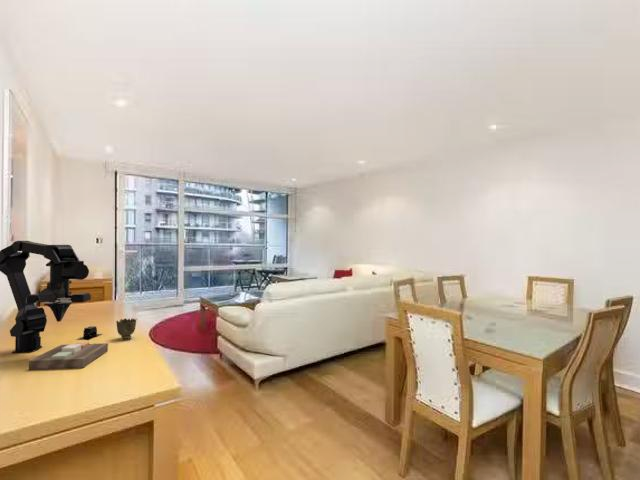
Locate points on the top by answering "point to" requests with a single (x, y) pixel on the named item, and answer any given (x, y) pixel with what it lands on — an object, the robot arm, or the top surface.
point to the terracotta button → (84, 344)
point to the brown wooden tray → (73, 361)
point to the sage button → (61, 355)
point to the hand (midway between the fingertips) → (59, 321)
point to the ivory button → (72, 348)
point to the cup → (126, 328)
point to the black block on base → (89, 333)
